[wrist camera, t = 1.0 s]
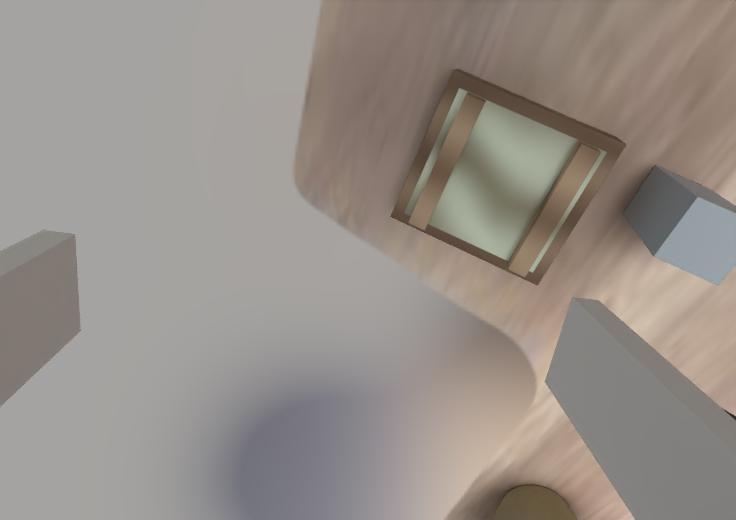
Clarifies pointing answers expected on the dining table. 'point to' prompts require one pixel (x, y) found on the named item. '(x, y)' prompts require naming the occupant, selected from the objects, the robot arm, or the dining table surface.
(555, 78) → the dining table surface
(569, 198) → the wooden tray
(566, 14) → the dining table surface
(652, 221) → the slate block
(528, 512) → the plant pot
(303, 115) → the dining table surface
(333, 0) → the dining table surface
